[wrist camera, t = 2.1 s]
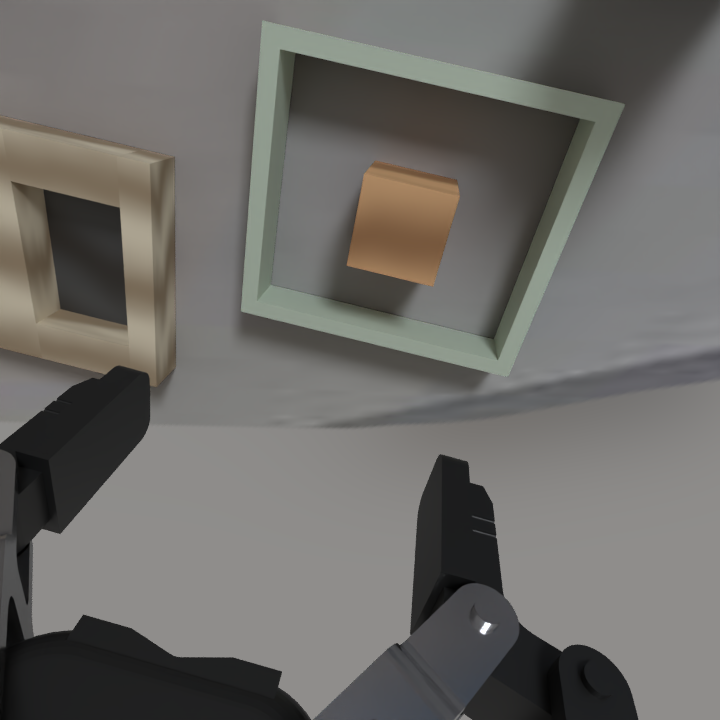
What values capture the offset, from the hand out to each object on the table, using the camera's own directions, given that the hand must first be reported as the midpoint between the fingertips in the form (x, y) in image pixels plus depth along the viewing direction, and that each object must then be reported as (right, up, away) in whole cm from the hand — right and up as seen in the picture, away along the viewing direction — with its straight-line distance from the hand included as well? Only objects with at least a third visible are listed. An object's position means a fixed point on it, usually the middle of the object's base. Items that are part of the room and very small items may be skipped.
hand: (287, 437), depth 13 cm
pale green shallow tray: (+5, +11, +17) cm, 21 cm away
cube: (+5, +11, +17) cm, 21 cm away
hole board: (-20, +10, +22) cm, 31 cm away
